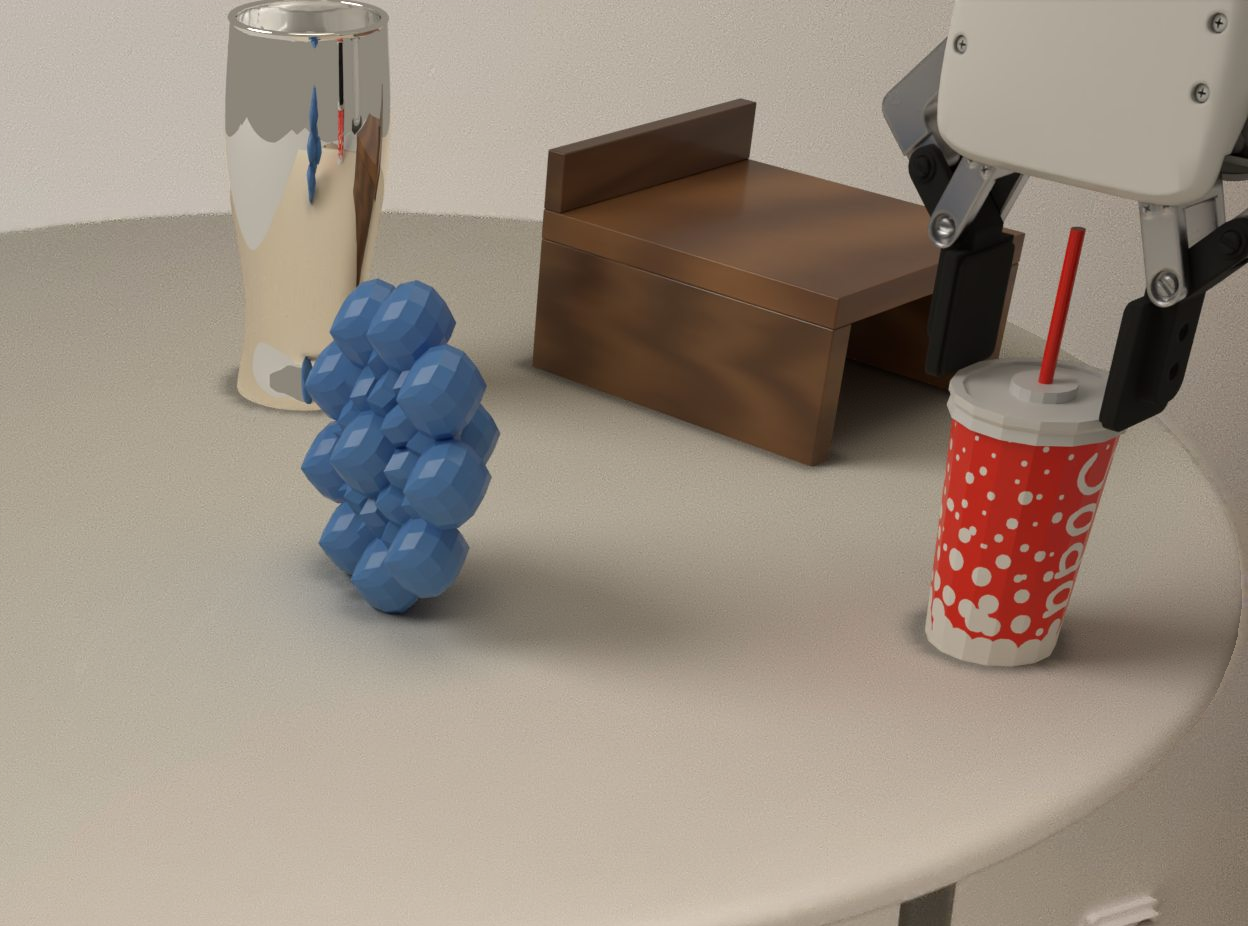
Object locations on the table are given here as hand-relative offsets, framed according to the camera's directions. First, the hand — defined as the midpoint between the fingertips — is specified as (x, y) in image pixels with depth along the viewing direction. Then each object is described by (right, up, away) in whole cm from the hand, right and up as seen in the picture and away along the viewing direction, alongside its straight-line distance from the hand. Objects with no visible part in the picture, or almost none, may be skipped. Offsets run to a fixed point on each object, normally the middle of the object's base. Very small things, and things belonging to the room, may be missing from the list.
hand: (1043, 387), depth 73 cm
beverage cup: (0, -7, +6) cm, 9 cm away
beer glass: (-25, +10, +25) cm, 36 cm away
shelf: (-4, +11, +26) cm, 28 cm away
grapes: (-21, -5, +9) cm, 23 cm away
